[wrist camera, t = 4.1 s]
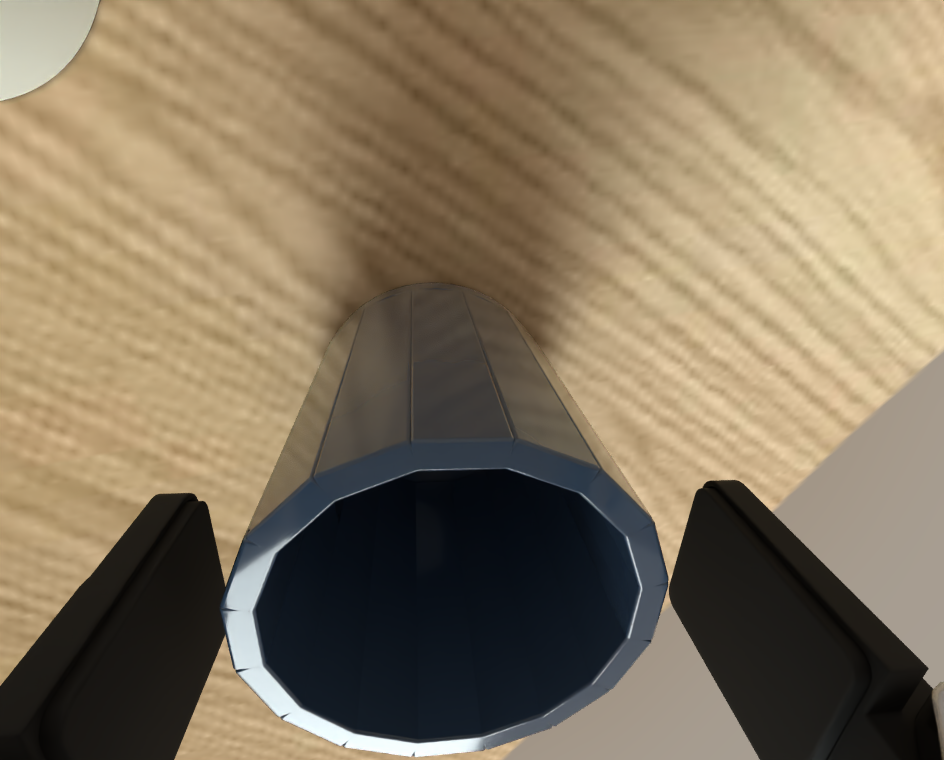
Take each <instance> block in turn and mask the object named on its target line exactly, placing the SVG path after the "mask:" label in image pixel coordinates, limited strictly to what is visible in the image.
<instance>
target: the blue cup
mask: <svg viewBox="0 0 944 760" xmlns="http://www.w3.org/2000/svg"><path fill="white" fill-rule="evenodd" d="M667 588H668V574H667V570H666V566H665V562H664V558H663V554H662V550H661V546H660V542H659V538H658V534H657V530H656V526H655V522H654V521H653V519H652V517H651V515H650V514H649V512H648V511H647V509H646V508H645V506H644V505H643V503H642V502H641V500H640V499H639V497H638V496H637V494H636V493H635V491H634V490H633V488H632V487H631V485H630V484H629V482H628V481H627V479H626V478H625V476H624V475H623V473H622V471H621V470H620V468H619V467H618V465H617V464H616V462H615V461H614V459H613V458H612V456H611V455H610V453H609V452H608V450H607V449H606V447H605V446H604V444H603V443H602V441H601V440H600V438H599V437H598V435H597V434H596V432H595V431H594V429H593V428H592V426H591V425H590V423H589V422H588V420H587V419H586V417H585V415H584V414H583V412H582V411H581V409H580V408H579V406H578V405H577V403H576V402H575V400H574V399H573V397H572V396H571V394H570V393H569V391H568V390H567V388H566V387H565V385H564V384H563V382H562V381H561V379H560V378H559V376H558V375H557V373H556V372H555V370H554V369H553V367H552V366H551V364H550V362H549V361H548V359H547V358H546V356H545V355H544V353H543V352H542V350H541V349H540V347H539V346H538V344H537V343H536V341H535V340H534V339H533V338H532V337H531V336H530V335H529V333H528V332H527V331H526V329H525V328H524V327H523V325H522V324H521V323H520V322H519V320H518V319H517V318H516V317H515V316H514V315H513V314H512V313H511V312H510V311H509V310H508V309H507V308H505V307H504V306H503V305H501V304H500V303H498V302H497V301H495V300H494V299H492V298H490V297H488V296H486V295H485V294H483V293H481V292H478V291H475V290H472V289H470V288H467V287H463V286H458V285H453V284H445V283H419V284H414V285H408V286H403V287H400V288H397V289H394V290H390V291H388V292H386V293H384V294H381V295H379V296H377V297H375V298H373V299H372V300H370V301H369V302H367V303H366V304H364V305H363V306H361V307H360V308H359V309H358V310H357V311H355V312H354V313H353V314H352V315H351V316H350V317H349V318H348V319H347V320H346V321H345V323H344V324H343V325H342V326H341V327H340V329H339V330H338V332H337V333H336V335H335V336H334V338H333V339H332V340H331V342H330V343H329V345H328V348H327V350H326V352H325V355H324V357H323V359H322V361H321V364H320V366H319V368H318V370H317V373H316V375H315V377H314V379H313V382H312V384H311V386H310V388H309V391H308V393H307V395H306V397H305V400H304V402H303V404H302V407H301V409H300V411H299V413H298V416H297V418H296V420H295V422H294V425H293V427H292V429H291V431H290V434H289V436H288V438H287V440H286V443H285V445H284V447H283V450H282V452H281V454H280V456H279V459H278V461H277V463H276V465H275V468H274V470H273V472H272V474H271V477H270V479H269V481H268V483H267V486H266V488H265V490H264V493H263V495H262V497H261V499H260V502H259V504H258V506H257V508H256V511H255V513H254V515H253V517H252V520H251V522H250V524H249V526H248V529H247V531H246V533H245V535H244V538H243V540H242V543H241V546H240V548H239V551H238V554H237V557H236V560H235V562H234V565H233V568H232V571H231V574H230V576H229V579H228V582H227V585H226V587H225V590H224V593H223V596H222V599H221V601H220V613H221V618H222V622H223V626H224V630H225V634H226V639H227V643H228V647H229V651H230V655H231V660H232V664H233V668H234V669H235V670H236V673H237V674H238V675H239V677H240V678H241V679H242V680H243V681H244V682H245V683H246V684H247V685H248V686H249V687H250V688H251V689H252V690H253V691H254V692H255V693H256V695H257V696H258V697H259V698H260V699H261V700H262V701H263V702H264V703H265V704H266V705H267V706H268V707H269V708H270V709H271V710H272V712H273V713H274V714H275V715H276V716H278V717H280V718H281V719H282V720H284V721H286V722H288V723H290V724H292V725H295V726H297V727H299V728H301V729H303V730H306V731H308V732H310V733H312V734H314V735H316V736H319V737H321V738H323V739H325V740H327V741H329V742H332V743H334V744H336V745H338V746H343V747H345V748H352V749H358V750H365V751H372V752H379V753H386V754H393V755H400V756H407V757H412V756H414V757H424V756H434V755H444V754H455V753H465V752H476V751H483V750H485V749H491V748H494V747H497V746H500V745H503V744H506V743H509V742H512V741H515V740H518V739H521V738H524V737H527V736H530V735H532V734H536V733H539V732H541V731H545V730H547V729H550V728H552V726H557V725H558V724H560V723H561V722H563V721H564V720H566V719H567V718H569V717H571V716H572V715H574V714H575V713H576V712H578V711H580V710H581V709H583V708H584V707H586V706H588V705H589V704H591V703H592V702H594V701H595V700H597V699H598V698H600V697H601V696H603V695H605V694H606V693H608V692H609V691H610V690H611V689H613V688H614V687H615V685H616V684H617V683H618V682H619V680H620V679H621V678H622V677H623V676H624V675H625V673H626V672H627V671H628V670H629V668H630V667H631V666H632V665H633V664H634V663H635V661H636V660H637V659H638V658H639V656H640V655H641V654H642V653H643V652H644V650H645V649H646V648H647V647H648V646H649V644H650V643H651V639H653V636H654V633H655V629H656V626H657V622H658V619H659V616H660V612H661V609H662V605H663V602H664V598H665V595H666V591H667Z"/></svg>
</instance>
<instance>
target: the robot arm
mask: <svg viewBox="0 0 944 760" xmlns="http://www.w3.org/2000/svg"><path fill="white" fill-rule="evenodd" d="M224 590H225V583H224V578H223V574H222V569H221V564H220V560H219V555H218V551H217V546H216V542H215V537H214V532H213V528H212V523H211V519H210V514H209V510H208V506H207V504H206V502H204V501H198V499H197V497H196V496H195V494H192V493H177V494H158V495H155V496H154V497H153V498H152V499H151V500H150V502H149V503H148V504H147V505H146V507H145V508H144V509H143V510H142V512H141V513H140V514H139V515H138V517H137V518H136V519H135V520H134V522H133V523H132V524H131V526H130V527H129V528H128V529H127V531H126V532H125V533H124V534H123V536H122V537H121V538H120V539H119V541H118V542H117V543H116V545H115V546H114V547H113V548H112V550H111V551H110V552H109V553H108V555H107V556H106V557H105V558H104V560H103V561H102V562H101V563H100V565H99V566H98V567H97V569H96V570H95V571H94V572H93V574H92V575H91V576H90V577H89V578H88V579H87V580H86V581H85V582H84V583H83V584H82V585H81V586H80V587H79V588H78V589H77V591H76V592H75V593H74V594H73V596H72V597H71V598H70V599H69V601H68V602H67V603H66V604H65V606H64V607H63V608H62V609H61V611H60V612H59V613H58V614H57V616H56V617H55V618H54V619H53V621H52V622H51V623H50V624H49V626H48V627H47V628H46V629H45V631H44V632H43V633H42V635H41V636H40V637H39V638H38V640H37V641H36V642H35V643H34V645H33V646H32V647H31V648H30V650H29V651H28V652H27V653H26V655H25V656H24V657H23V658H22V660H21V661H20V662H19V663H18V665H17V666H16V667H15V668H14V670H13V671H12V672H11V673H10V675H9V676H8V677H7V678H6V680H5V681H4V682H3V683H2V685H1V686H0V760H174V759H175V756H176V754H177V751H178V749H179V746H180V744H181V742H182V739H183V737H184V734H185V732H186V729H187V727H188V724H189V722H190V720H191V717H192V715H193V712H194V710H195V707H196V705H197V702H198V700H199V698H200V695H201V693H202V690H203V688H204V685H205V683H206V680H207V678H208V676H209V673H210V671H211V668H212V666H213V663H214V661H215V658H216V656H217V654H218V651H219V649H220V646H221V644H222V641H223V639H224V636H225V630H224V626H223V622H222V618H221V613H220V601H221V599H222V596H223V593H224ZM669 596H670V600H671V604H672V606H673V608H674V610H675V611H676V613H677V615H678V616H679V618H680V620H681V622H682V624H683V625H684V627H685V629H686V631H687V632H688V634H689V636H690V637H691V639H692V641H693V643H694V645H695V646H696V648H697V650H698V652H699V653H700V655H701V657H702V659H703V660H704V662H705V664H706V666H707V667H708V669H709V671H710V673H711V675H712V676H713V678H714V680H715V681H716V683H717V685H718V687H719V689H720V690H721V692H722V694H723V696H724V697H725V699H726V701H727V702H728V704H729V706H730V708H731V710H732V711H733V713H734V715H735V717H736V718H737V720H738V722H739V724H740V725H741V727H742V729H743V731H744V732H745V734H746V736H747V737H748V739H749V741H750V743H751V745H752V746H753V748H754V750H755V752H756V753H757V755H758V757H759V759H760V760H944V682H940V683H939V684H938V685H937V686H936V687H935V688H934V689H933V688H932V687H930V685H929V684H928V683H927V682H926V681H925V680H924V679H923V676H924V675H925V673H926V672H927V670H928V667H927V666H926V665H925V664H924V663H923V662H922V661H921V660H920V659H919V658H918V657H917V656H916V655H915V654H914V653H913V652H912V651H911V650H910V649H909V648H908V647H907V646H905V645H904V643H903V642H902V641H900V640H899V638H898V637H897V636H896V635H895V634H894V633H892V631H891V630H890V629H888V627H887V626H886V625H885V624H884V623H882V621H881V620H879V619H878V618H877V617H876V615H875V614H873V613H872V612H871V611H870V610H869V609H868V608H867V607H866V606H865V605H864V604H863V603H862V602H861V601H860V600H859V599H858V598H857V597H856V596H855V595H854V594H853V593H852V592H851V591H850V590H849V589H848V588H847V587H846V586H845V585H844V584H843V583H842V582H841V581H840V580H839V579H838V578H837V577H836V576H835V575H834V574H833V573H832V572H831V571H830V570H829V569H828V568H827V567H826V566H825V565H824V564H823V563H822V562H821V561H820V560H819V559H818V558H817V557H816V556H815V555H814V554H813V553H812V552H811V551H810V550H809V549H808V548H807V547H806V546H805V545H804V544H803V543H802V542H801V541H800V540H799V539H798V538H797V537H796V536H795V535H794V534H793V533H792V532H791V531H790V530H789V529H788V528H787V527H786V526H785V525H784V524H783V523H782V522H781V521H780V520H779V519H778V518H777V517H776V516H775V515H774V514H773V513H772V512H771V511H770V510H769V509H768V508H767V507H766V506H765V505H764V504H763V503H762V502H761V501H760V500H759V499H758V498H757V497H756V496H755V495H754V494H753V493H752V492H751V491H750V490H749V489H748V488H747V487H746V486H745V485H744V484H743V483H741V482H740V481H737V480H721V481H708V482H706V483H705V484H704V486H703V488H701V489H698V490H697V492H696V494H695V497H694V501H693V504H692V508H691V511H690V515H689V518H688V522H687V525H686V529H685V532H684V536H683V540H682V543H681V547H680V550H679V554H678V557H677V561H676V564H675V568H674V571H673V575H672V579H671V582H670V586H669Z"/></svg>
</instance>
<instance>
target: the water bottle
mask: <svg viewBox="0 0 944 760" xmlns="http://www.w3.org/2000/svg"><path fill="white" fill-rule="evenodd" d="M98 4H99V0H0V101H2V100H6V99H10V98H14V97H17V96H20V95H23V94H25V93H27V92H30V91H32V90H34V89H36V88H38V87H40V86H41V85H43V84H45V83H46V82H48V81H49V80H50V79H52V78H53V77H54V76H56V75H57V74H58V73H59V72H60V71H61V70H62V69H63V68H64V67H65V66H66V65H67V64H68V63H69V62H70V61H71V60H72V58H73V57H74V56H75V54H76V53H77V52H78V50H79V49H80V47H81V46H82V44H83V42H84V40H85V39H86V37H87V35H88V33H89V30H90V28H91V26H92V23H93V21H94V18H95V15H96V12H97V8H98Z"/></svg>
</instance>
